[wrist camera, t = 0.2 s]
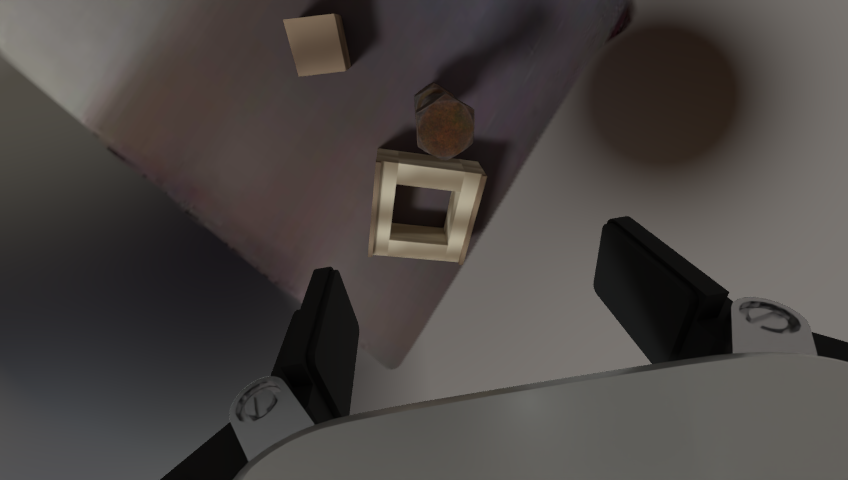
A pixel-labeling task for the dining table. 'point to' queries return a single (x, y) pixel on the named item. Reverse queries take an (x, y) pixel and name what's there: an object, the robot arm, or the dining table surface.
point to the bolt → (442, 122)
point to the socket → (428, 173)
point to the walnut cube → (318, 44)
